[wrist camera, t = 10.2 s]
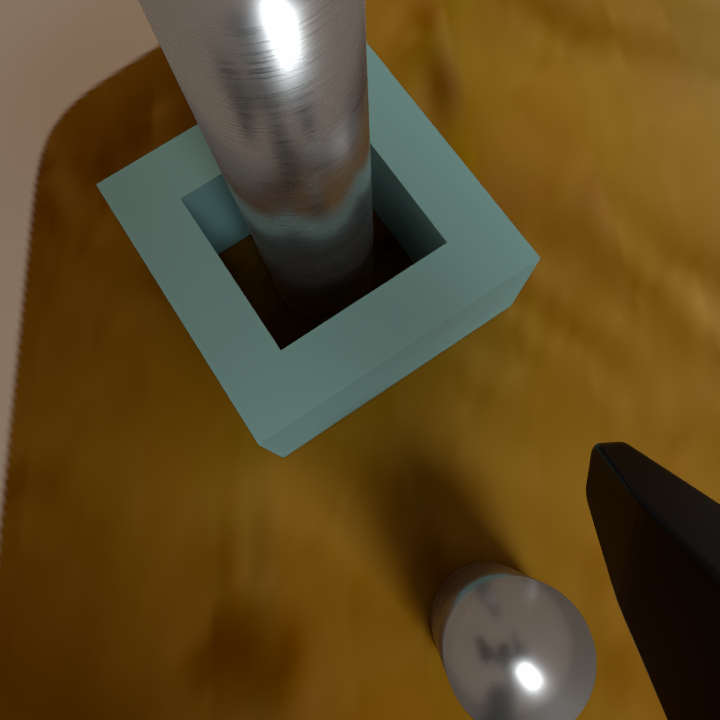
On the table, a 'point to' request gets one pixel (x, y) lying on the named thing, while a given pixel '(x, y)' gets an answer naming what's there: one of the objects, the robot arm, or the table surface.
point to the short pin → (512, 645)
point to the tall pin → (285, 132)
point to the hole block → (361, 319)
